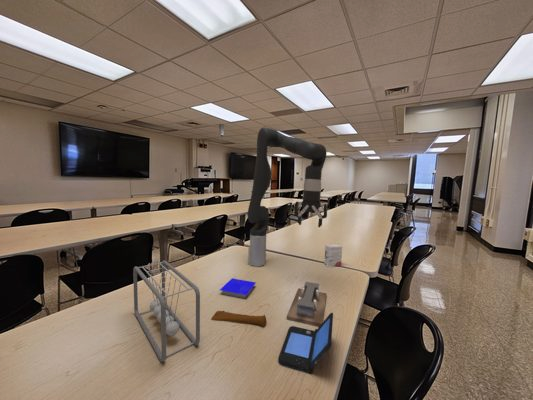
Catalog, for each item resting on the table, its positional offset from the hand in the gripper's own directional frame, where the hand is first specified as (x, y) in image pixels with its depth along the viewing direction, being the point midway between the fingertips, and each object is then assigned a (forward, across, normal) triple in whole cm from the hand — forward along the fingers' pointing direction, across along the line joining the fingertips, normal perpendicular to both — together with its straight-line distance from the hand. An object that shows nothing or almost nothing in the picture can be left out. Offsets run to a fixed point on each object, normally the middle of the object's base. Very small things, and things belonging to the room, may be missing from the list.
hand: (309, 225), depth 103 cm
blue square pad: (+29, -26, -16) cm, 42 cm away
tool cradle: (+28, +4, -17) cm, 33 cm away
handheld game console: (+28, +8, -40) cm, 49 cm away
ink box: (+29, +10, +33) cm, 45 cm away
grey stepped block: (+27, +4, -16) cm, 32 cm away
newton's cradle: (+29, -37, -48) cm, 67 cm away
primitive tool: (+29, -17, -35) cm, 48 cm away
